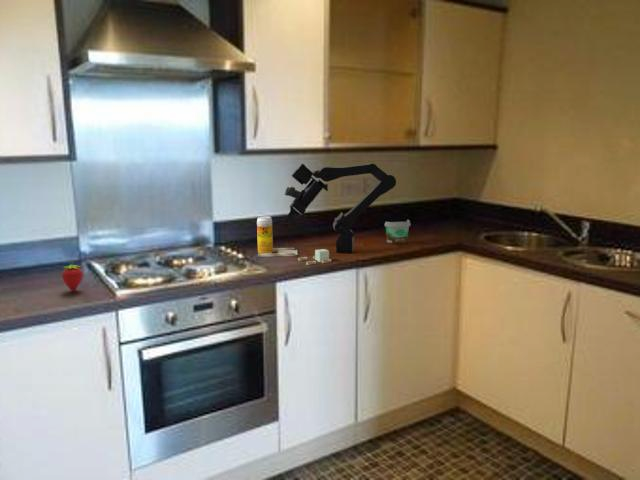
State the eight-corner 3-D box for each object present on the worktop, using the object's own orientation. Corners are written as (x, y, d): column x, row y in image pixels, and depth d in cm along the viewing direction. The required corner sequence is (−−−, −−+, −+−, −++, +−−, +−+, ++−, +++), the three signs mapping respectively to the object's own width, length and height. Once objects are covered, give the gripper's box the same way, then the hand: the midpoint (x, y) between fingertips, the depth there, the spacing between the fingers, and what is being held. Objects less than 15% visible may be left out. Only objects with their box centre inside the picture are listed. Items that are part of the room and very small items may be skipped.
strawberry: (84, 287, 178) (81, 257, 176) (84, 293, 172) (81, 261, 170) (64, 289, 176) (61, 258, 174) (63, 295, 169) (60, 263, 167)
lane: (294, 250, 232) (294, 247, 232) (295, 255, 221) (295, 253, 221) (258, 251, 231) (258, 248, 231) (257, 256, 220) (257, 254, 220)
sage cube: (324, 259, 216) (324, 248, 215) (329, 261, 212) (329, 250, 212) (315, 260, 214) (315, 250, 213) (319, 262, 211) (319, 251, 210)
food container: (391, 246, 238) (391, 223, 236) (384, 243, 244) (384, 221, 242) (415, 243, 243) (416, 221, 241) (407, 241, 249) (408, 219, 247)
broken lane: (321, 257, 218) (321, 255, 218) (331, 261, 210) (331, 259, 210) (298, 260, 214) (298, 257, 213) (307, 264, 206) (307, 262, 206)
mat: (296, 250, 231) (296, 250, 231) (297, 254, 223) (297, 254, 223) (277, 251, 230) (277, 250, 230) (277, 255, 222) (277, 254, 222)
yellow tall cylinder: (259, 255, 222) (258, 218, 219) (256, 252, 228) (255, 216, 225) (274, 254, 224) (273, 218, 221) (271, 251, 229) (270, 215, 227)
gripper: (296, 178, 231) (272, 207, 233) (294, 179, 213) (268, 210, 214) (316, 196, 232) (292, 224, 234) (316, 198, 214) (290, 229, 215)
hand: (285, 221), depth 224 cm, fingers open, 9 cm apart
